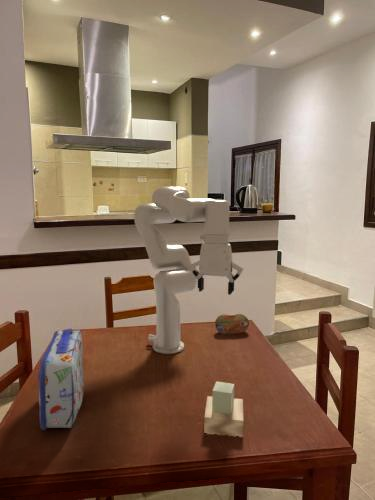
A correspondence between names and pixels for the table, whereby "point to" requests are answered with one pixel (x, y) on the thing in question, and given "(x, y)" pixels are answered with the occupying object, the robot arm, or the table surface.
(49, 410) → the lunch box
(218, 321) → the tin
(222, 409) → the sage block
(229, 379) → the table surface
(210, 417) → the maple block
